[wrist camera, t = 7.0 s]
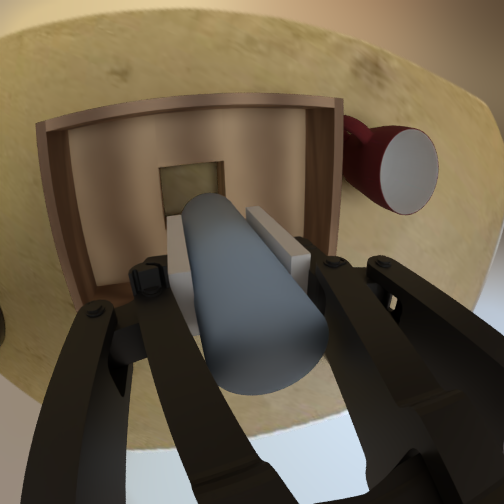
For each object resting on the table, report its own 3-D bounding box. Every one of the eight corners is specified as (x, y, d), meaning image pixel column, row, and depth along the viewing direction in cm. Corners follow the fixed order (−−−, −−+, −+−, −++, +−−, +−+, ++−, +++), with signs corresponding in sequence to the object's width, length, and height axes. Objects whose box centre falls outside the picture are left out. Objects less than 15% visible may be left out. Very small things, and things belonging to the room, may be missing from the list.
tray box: (98, 275, 29) (81, 325, 21) (72, 123, 22) (35, 123, 14) (293, 247, 34) (332, 285, 26) (295, 103, 27) (343, 98, 19)
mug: (290, 156, 30) (342, 171, 21) (325, 94, 28) (387, 89, 19) (357, 201, 34) (414, 229, 25) (387, 147, 32) (448, 161, 23)
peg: (177, 196, 17) (197, 314, 7) (236, 190, 18) (336, 288, 8) (183, 251, 19) (214, 404, 8) (238, 243, 20) (321, 378, 9)
